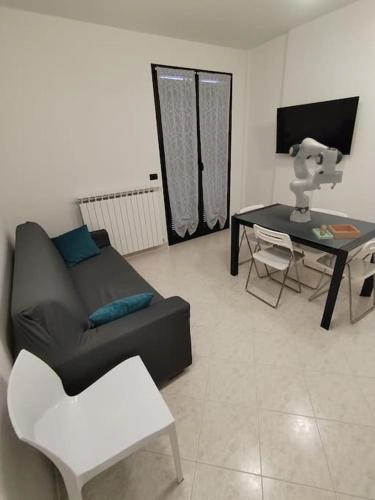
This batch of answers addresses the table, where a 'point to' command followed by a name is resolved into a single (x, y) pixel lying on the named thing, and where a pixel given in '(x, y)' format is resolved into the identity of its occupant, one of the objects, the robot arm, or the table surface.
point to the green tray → (327, 236)
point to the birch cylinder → (323, 230)
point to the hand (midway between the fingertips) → (325, 189)
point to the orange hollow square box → (343, 231)
